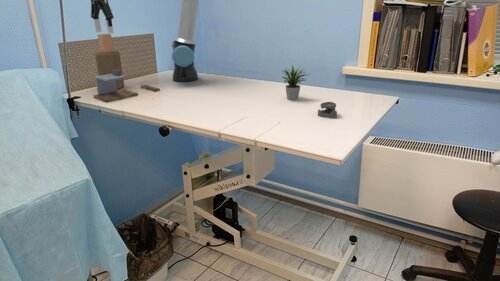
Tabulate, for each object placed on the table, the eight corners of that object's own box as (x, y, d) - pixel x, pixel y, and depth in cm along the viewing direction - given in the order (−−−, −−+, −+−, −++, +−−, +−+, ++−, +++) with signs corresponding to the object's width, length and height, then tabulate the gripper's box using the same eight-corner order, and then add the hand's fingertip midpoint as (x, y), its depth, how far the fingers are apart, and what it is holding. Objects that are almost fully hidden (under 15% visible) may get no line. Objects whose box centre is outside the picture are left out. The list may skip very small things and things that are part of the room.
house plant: (294, 105, 163) (295, 69, 157) (271, 100, 172) (271, 65, 166) (312, 99, 173) (314, 64, 167) (289, 94, 182) (290, 61, 176)
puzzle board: (145, 86, 203) (145, 84, 202) (159, 90, 194) (159, 88, 193) (93, 97, 183) (93, 95, 182) (106, 102, 174) (106, 100, 173)
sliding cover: (116, 90, 190) (112, 68, 185) (128, 94, 182) (124, 71, 177) (98, 94, 183) (93, 71, 178) (109, 98, 175) (105, 74, 171)
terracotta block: (109, 50, 196) (106, 33, 193) (113, 51, 193) (110, 34, 190) (100, 51, 193) (97, 34, 189) (104, 52, 190) (101, 35, 186)
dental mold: (341, 115, 149) (342, 103, 147) (333, 119, 144) (334, 107, 143) (323, 112, 154) (324, 100, 152) (315, 116, 149) (316, 104, 147)
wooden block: (118, 90, 196) (112, 53, 188) (100, 90, 196) (93, 53, 188) (125, 86, 205) (119, 50, 197) (107, 86, 205) (101, 50, 198)
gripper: (79, -11, 187) (87, 32, 195) (101, -12, 171) (109, 34, 179) (93, -11, 192) (100, 30, 200) (116, -13, 176) (123, 33, 184)
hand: (104, 32), depth 189 cm, fingers open, 13 cm apart
